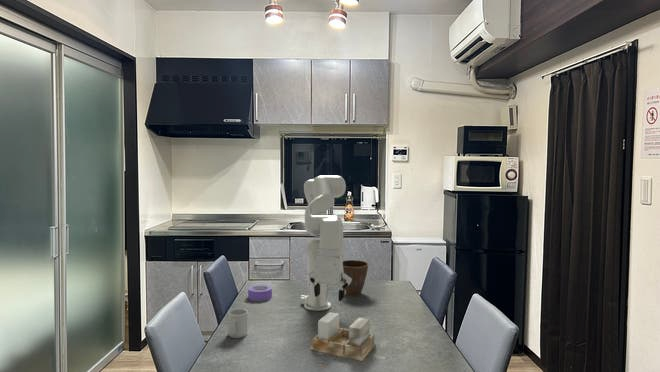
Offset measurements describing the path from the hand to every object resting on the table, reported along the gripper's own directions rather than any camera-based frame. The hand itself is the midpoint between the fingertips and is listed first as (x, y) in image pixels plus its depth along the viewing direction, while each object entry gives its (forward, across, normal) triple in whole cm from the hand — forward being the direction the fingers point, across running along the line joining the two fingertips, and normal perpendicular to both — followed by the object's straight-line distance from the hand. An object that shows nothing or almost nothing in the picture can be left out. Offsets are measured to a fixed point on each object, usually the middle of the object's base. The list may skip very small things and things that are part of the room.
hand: (329, 297), depth 151 cm
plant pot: (+19, -13, +60) cm, 64 cm away
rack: (+17, +7, -1) cm, 18 cm away
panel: (+16, 0, -1) cm, 16 cm away
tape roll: (+19, -53, +33) cm, 66 cm away
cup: (+18, -34, -10) cm, 40 cm away
